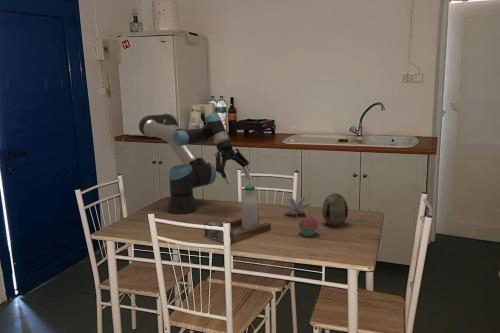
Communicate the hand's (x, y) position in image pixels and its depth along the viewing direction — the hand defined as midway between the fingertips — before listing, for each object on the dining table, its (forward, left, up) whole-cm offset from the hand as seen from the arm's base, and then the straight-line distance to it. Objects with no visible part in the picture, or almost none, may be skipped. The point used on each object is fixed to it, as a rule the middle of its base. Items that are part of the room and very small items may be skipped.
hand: (239, 181), depth 219 cm
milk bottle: (+17, -9, -18) cm, 27 cm away
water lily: (+20, +19, -18) cm, 33 cm away
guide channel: (+17, -17, -18) cm, 30 cm away
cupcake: (+41, +3, -18) cm, 45 cm away
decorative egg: (+42, +21, -18) cm, 50 cm away
